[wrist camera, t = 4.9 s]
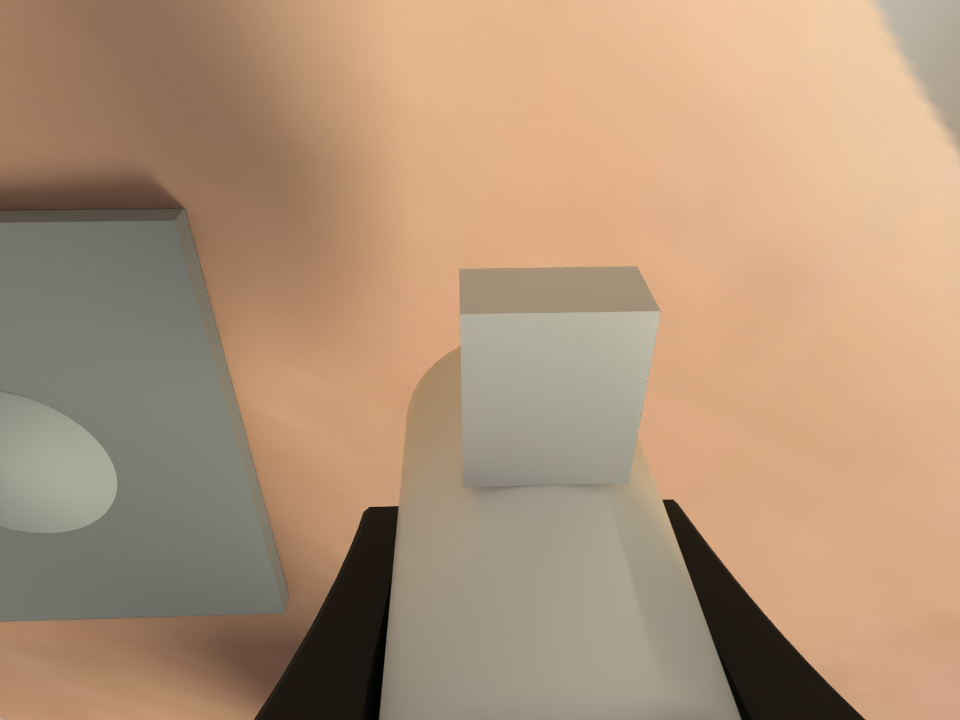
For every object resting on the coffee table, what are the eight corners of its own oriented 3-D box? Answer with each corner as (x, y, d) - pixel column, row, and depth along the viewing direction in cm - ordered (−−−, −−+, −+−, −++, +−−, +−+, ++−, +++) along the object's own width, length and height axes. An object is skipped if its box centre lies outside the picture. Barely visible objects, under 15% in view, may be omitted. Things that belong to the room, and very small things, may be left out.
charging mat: (289, 595, 25) (284, 615, 25) (-73, 605, 25) (-90, 626, 24) (184, 208, 16) (172, 222, 16) (-386, 215, 16) (-427, 229, 15)
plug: (596, 591, 15) (669, 933, 10) (420, 596, 15) (404, 945, 10) (664, 188, 9) (903, 493, 4) (387, 190, 9) (312, 507, 4)
